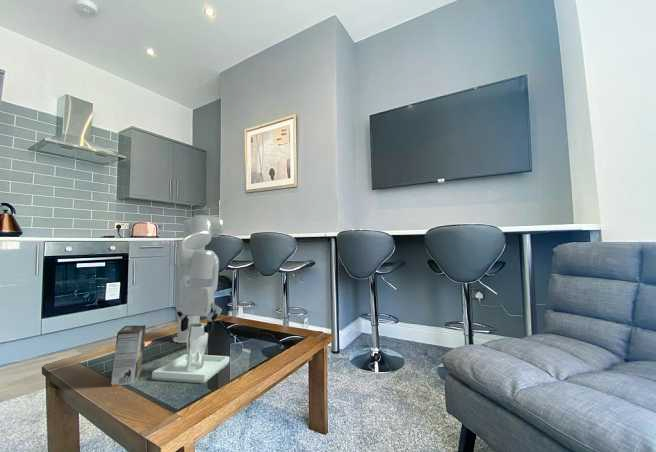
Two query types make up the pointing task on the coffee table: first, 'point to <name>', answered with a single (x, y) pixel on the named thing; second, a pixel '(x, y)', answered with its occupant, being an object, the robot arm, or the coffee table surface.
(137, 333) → the coffee box
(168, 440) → the coffee table surface
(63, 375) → the coffee table surface
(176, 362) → the tray
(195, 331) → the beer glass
